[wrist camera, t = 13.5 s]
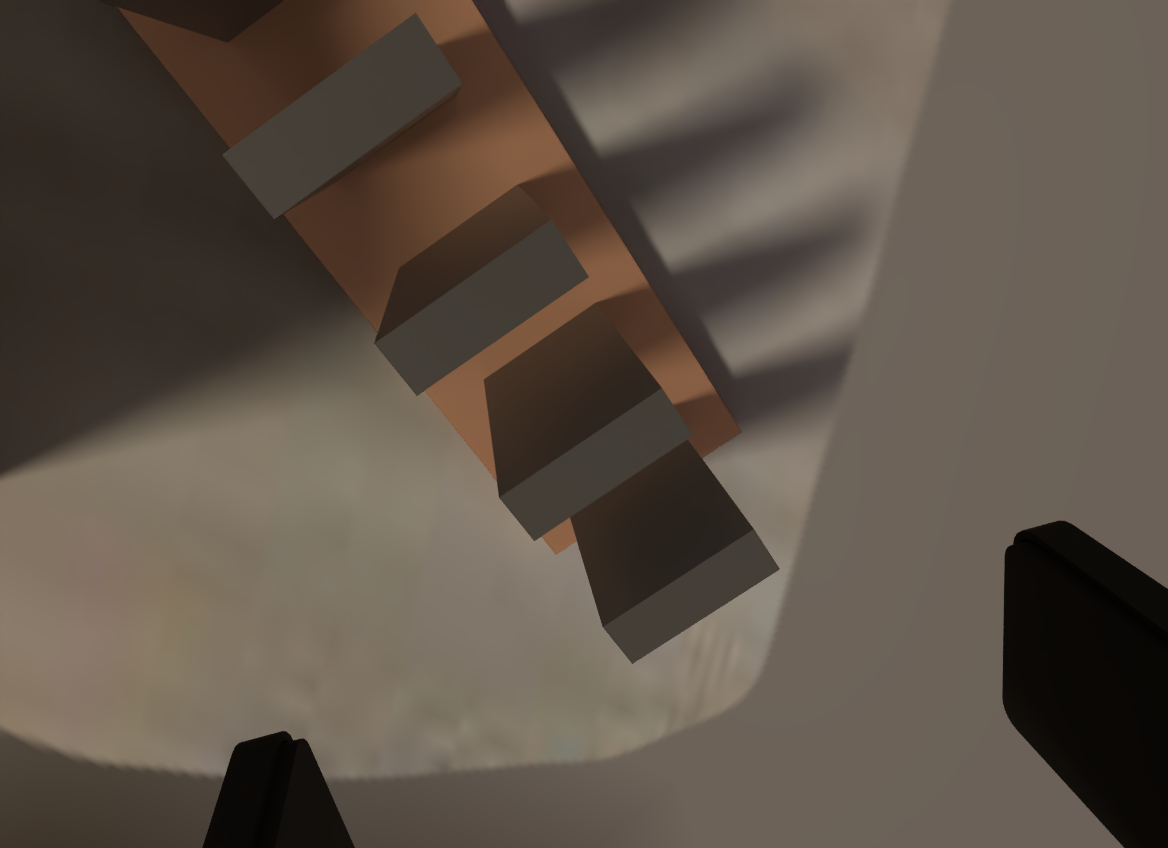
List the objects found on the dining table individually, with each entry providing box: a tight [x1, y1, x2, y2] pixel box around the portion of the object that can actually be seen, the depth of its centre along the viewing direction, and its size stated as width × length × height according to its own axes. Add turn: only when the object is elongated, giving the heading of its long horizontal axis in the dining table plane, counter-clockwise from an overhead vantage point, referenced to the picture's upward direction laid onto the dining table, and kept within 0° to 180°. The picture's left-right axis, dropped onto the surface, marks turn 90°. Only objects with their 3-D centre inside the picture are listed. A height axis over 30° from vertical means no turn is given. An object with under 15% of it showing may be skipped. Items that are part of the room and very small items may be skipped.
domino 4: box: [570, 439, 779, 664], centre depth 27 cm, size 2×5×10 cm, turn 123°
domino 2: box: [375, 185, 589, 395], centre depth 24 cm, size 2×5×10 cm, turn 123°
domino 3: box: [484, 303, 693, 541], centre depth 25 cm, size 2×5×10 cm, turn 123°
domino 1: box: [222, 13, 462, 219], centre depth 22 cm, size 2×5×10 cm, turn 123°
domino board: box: [117, 0, 741, 554], centre depth 28 cm, size 26×9×1 cm, turn 33°
